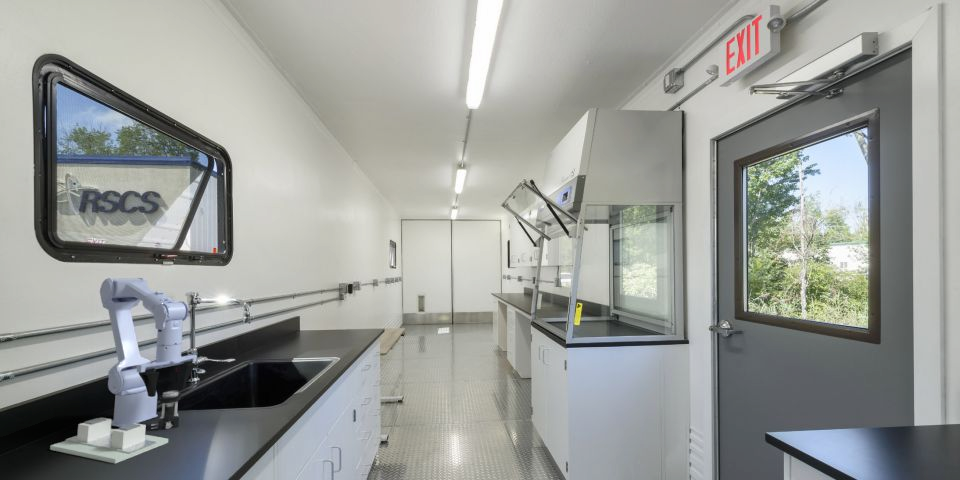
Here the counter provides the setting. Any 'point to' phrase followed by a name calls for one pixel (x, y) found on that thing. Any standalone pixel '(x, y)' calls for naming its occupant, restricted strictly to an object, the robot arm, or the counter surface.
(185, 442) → the counter surface
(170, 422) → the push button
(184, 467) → the counter surface
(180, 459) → the counter surface
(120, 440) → the mounted modules
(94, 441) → the rail
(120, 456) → the mounting board
